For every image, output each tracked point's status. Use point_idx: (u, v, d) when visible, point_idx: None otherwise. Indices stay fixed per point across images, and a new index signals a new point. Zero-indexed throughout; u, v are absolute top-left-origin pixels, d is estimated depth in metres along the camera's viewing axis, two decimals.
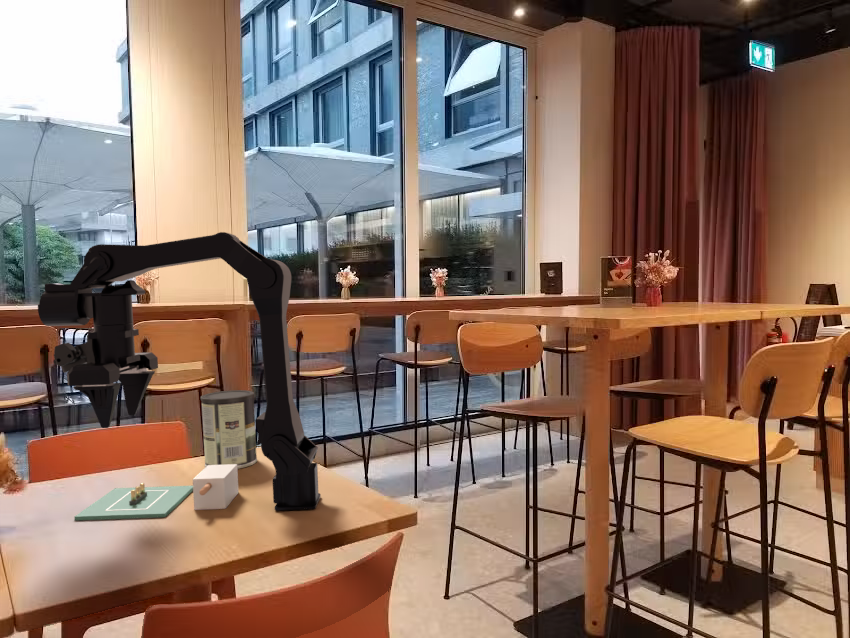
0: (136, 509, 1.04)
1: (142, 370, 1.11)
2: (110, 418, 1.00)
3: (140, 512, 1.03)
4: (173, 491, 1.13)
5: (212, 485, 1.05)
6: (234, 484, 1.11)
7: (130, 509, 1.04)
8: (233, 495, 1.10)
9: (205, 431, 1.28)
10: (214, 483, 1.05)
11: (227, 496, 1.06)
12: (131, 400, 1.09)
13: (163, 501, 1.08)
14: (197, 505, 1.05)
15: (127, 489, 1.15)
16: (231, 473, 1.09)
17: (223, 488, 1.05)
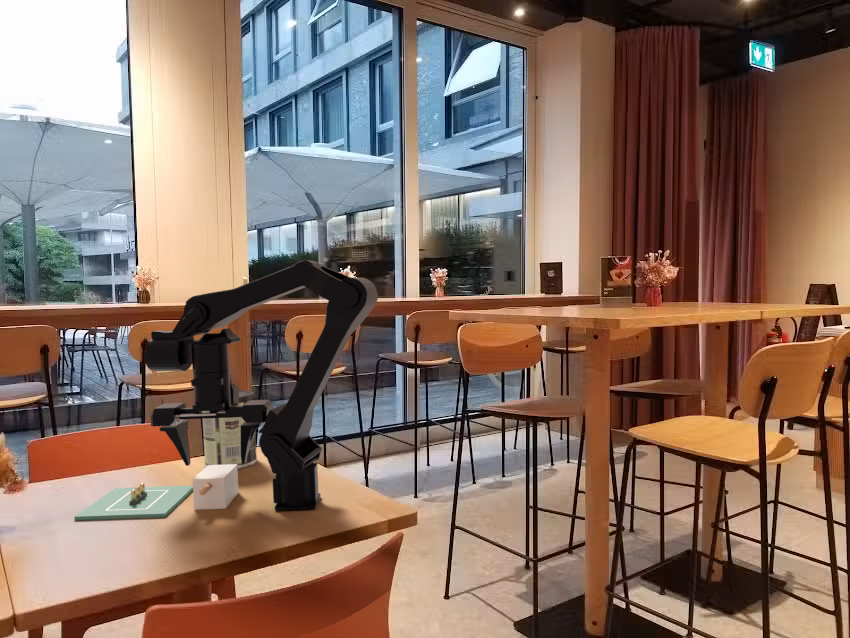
0: (136, 509, 1.04)
1: None
2: (183, 458, 1.08)
3: (140, 512, 1.03)
4: (173, 491, 1.13)
5: (212, 485, 1.05)
6: (234, 484, 1.11)
7: (130, 509, 1.04)
8: (233, 495, 1.10)
9: (205, 431, 1.28)
10: (214, 483, 1.05)
11: (227, 496, 1.06)
12: None
13: (163, 501, 1.08)
14: (197, 505, 1.05)
15: (127, 489, 1.15)
16: (231, 473, 1.09)
17: (223, 488, 1.05)
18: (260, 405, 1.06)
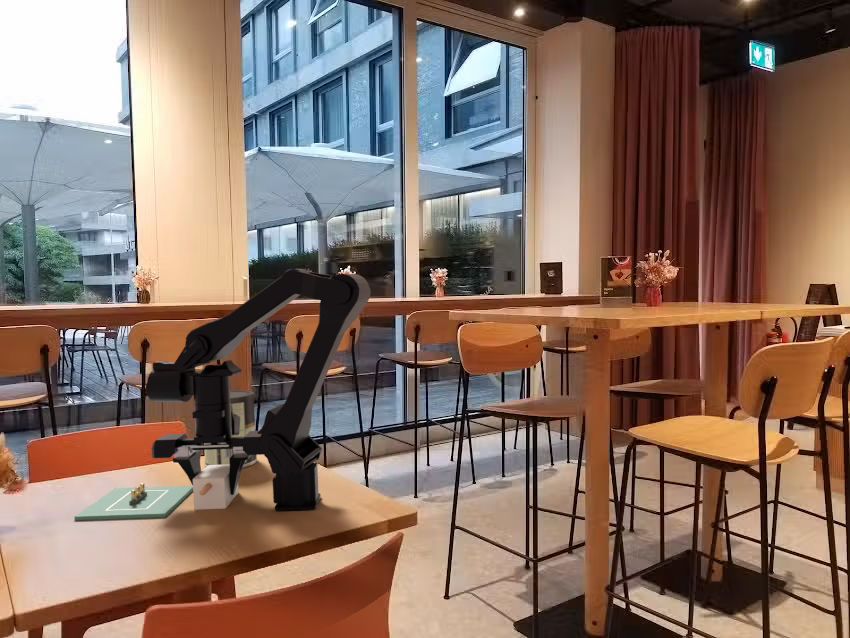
0: (136, 509, 1.04)
1: (237, 453, 1.07)
2: None
3: (140, 512, 1.03)
4: (173, 491, 1.13)
5: (212, 485, 1.05)
6: None
7: (130, 509, 1.04)
8: (233, 495, 1.10)
9: None
10: (214, 483, 1.05)
11: (227, 496, 1.06)
12: None
13: (163, 501, 1.08)
14: (197, 505, 1.05)
15: (127, 489, 1.15)
16: None
17: (223, 488, 1.05)
18: None
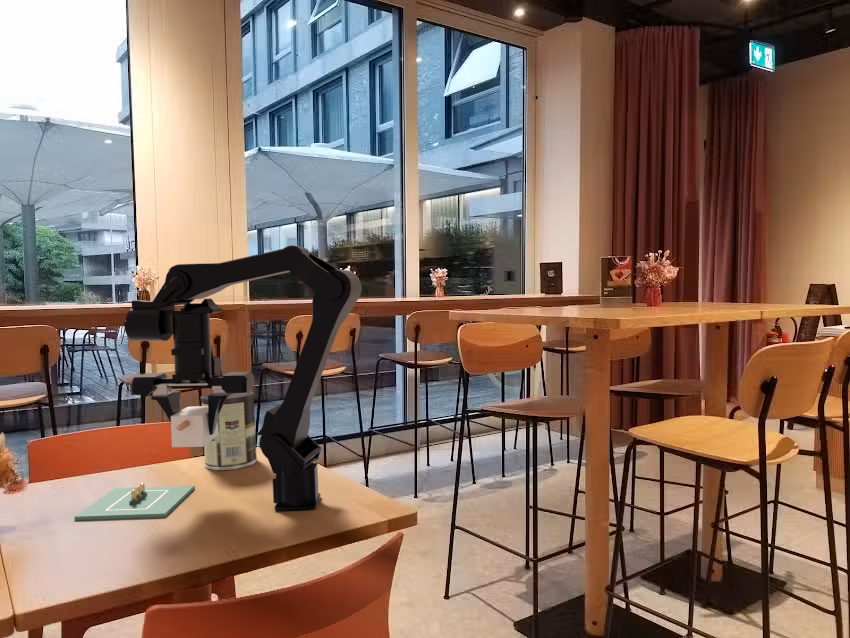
0: (136, 509, 1.04)
1: (216, 392, 1.07)
2: None
3: (140, 512, 1.03)
4: (173, 491, 1.13)
5: (190, 422, 1.04)
6: None
7: (130, 509, 1.04)
8: (212, 436, 1.10)
9: None
10: (192, 420, 1.04)
11: (205, 435, 1.06)
12: None
13: (163, 501, 1.08)
14: (175, 442, 1.05)
15: (127, 489, 1.15)
16: None
17: (201, 426, 1.04)
18: (240, 376, 1.06)
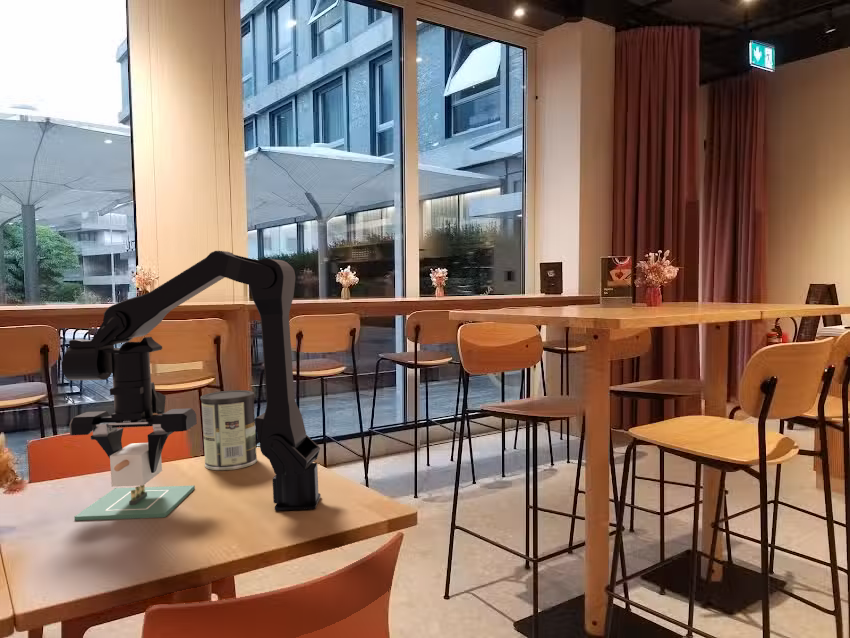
0: (136, 509, 1.04)
1: (156, 430, 1.07)
2: None
3: (140, 512, 1.03)
4: (173, 491, 1.13)
5: (129, 462, 1.04)
6: None
7: (130, 509, 1.04)
8: (154, 473, 1.10)
9: (205, 431, 1.28)
10: (131, 459, 1.04)
11: (145, 473, 1.06)
12: None
13: (163, 501, 1.08)
14: (114, 482, 1.05)
15: (127, 489, 1.15)
16: None
17: (141, 465, 1.05)
18: (180, 414, 1.06)
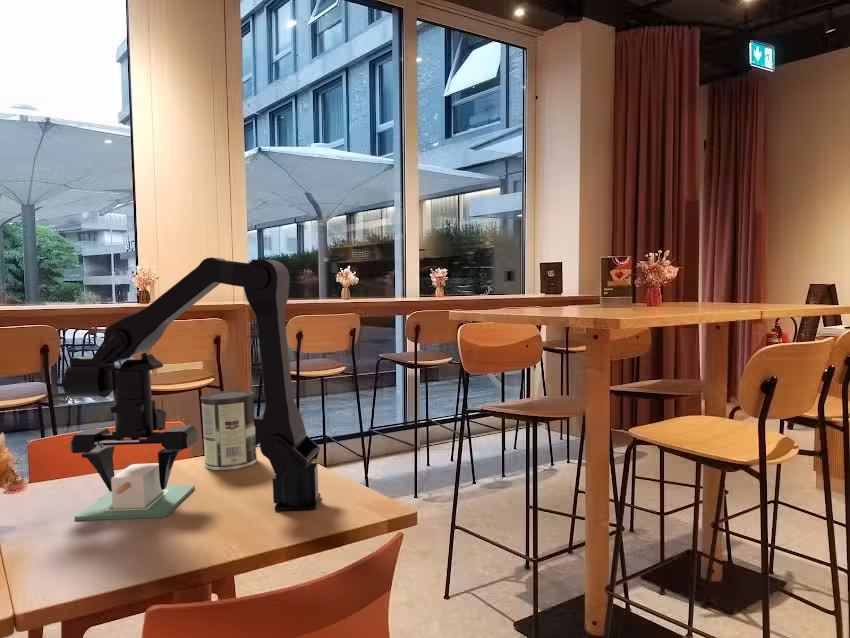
0: (136, 509, 1.04)
1: None
2: (106, 484, 1.08)
3: (140, 512, 1.03)
4: (173, 491, 1.13)
5: (131, 484, 1.05)
6: (157, 483, 1.11)
7: (130, 509, 1.04)
8: (155, 494, 1.10)
9: (205, 431, 1.28)
10: (132, 482, 1.05)
11: (147, 495, 1.06)
12: None
13: (163, 501, 1.08)
14: (116, 504, 1.05)
15: None
16: (153, 472, 1.09)
17: (142, 487, 1.05)
18: (180, 432, 1.06)
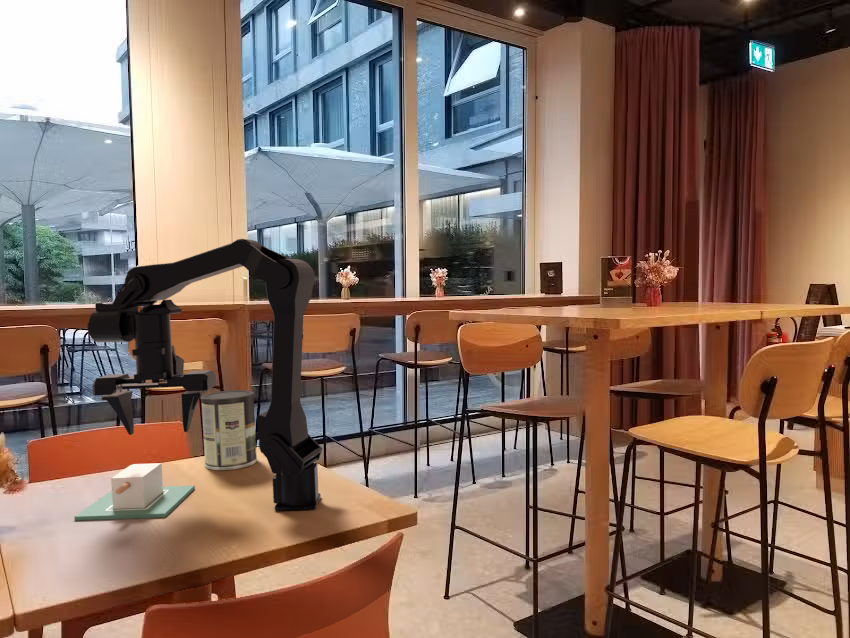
0: (136, 509, 1.04)
1: None
2: (126, 427, 1.10)
3: (140, 512, 1.03)
4: (173, 491, 1.13)
5: (131, 484, 1.05)
6: (157, 483, 1.11)
7: (130, 509, 1.04)
8: (155, 494, 1.10)
9: (205, 431, 1.28)
10: (132, 482, 1.05)
11: (147, 495, 1.06)
12: None
13: (163, 501, 1.08)
14: (116, 504, 1.05)
15: None
16: (153, 472, 1.09)
17: (142, 487, 1.05)
18: (201, 374, 1.09)
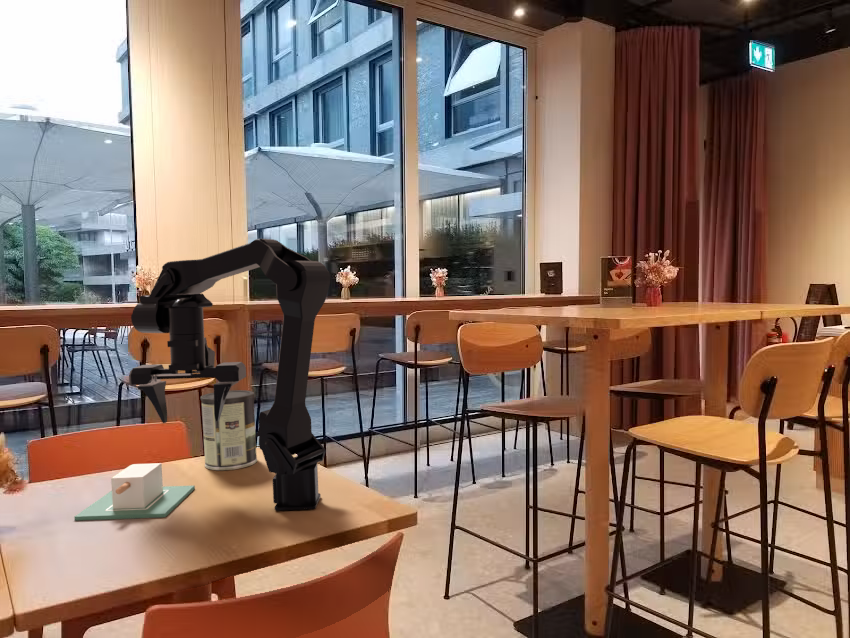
0: (136, 509, 1.04)
1: None
2: (160, 415, 1.14)
3: (140, 512, 1.03)
4: (173, 491, 1.13)
5: (131, 484, 1.05)
6: (157, 483, 1.11)
7: (130, 509, 1.04)
8: (155, 494, 1.10)
9: (205, 431, 1.28)
10: (132, 482, 1.05)
11: (147, 495, 1.06)
12: None
13: (163, 501, 1.08)
14: (116, 504, 1.05)
15: None
16: (153, 472, 1.09)
17: (142, 487, 1.05)
18: (232, 366, 1.13)
